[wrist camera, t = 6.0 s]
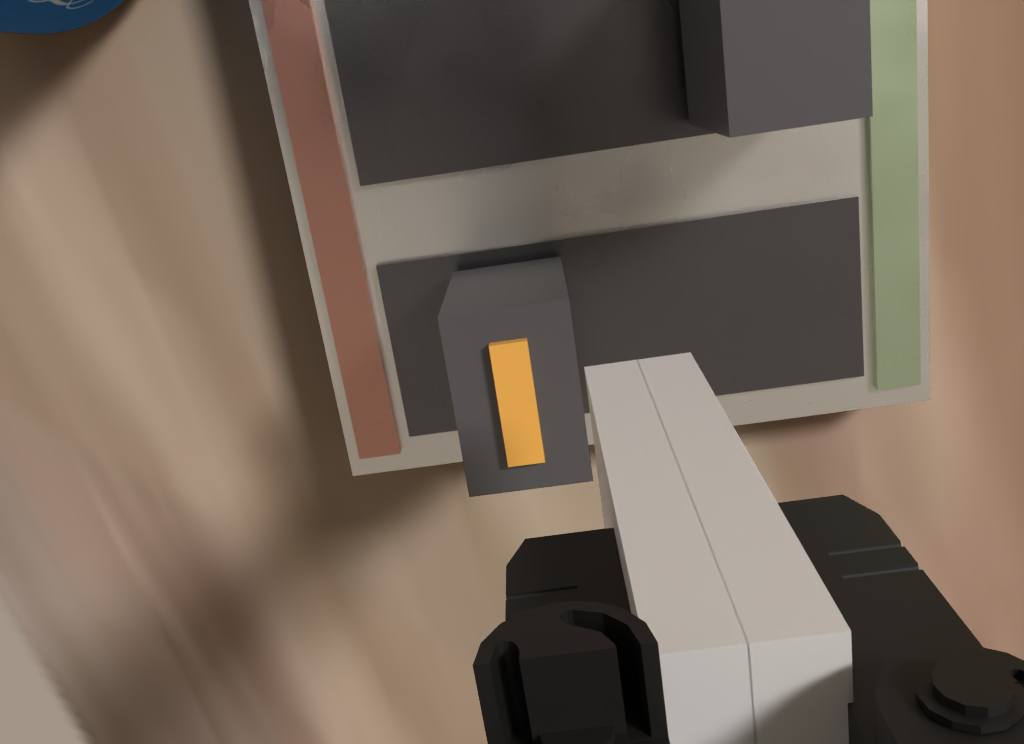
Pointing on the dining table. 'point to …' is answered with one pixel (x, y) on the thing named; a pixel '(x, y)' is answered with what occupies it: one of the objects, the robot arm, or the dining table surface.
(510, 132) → the panel
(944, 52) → the dining table surface
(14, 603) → the dining table surface
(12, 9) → the beverage can
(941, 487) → the dining table surface
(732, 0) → the block
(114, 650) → the dining table surface
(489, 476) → the breaker
